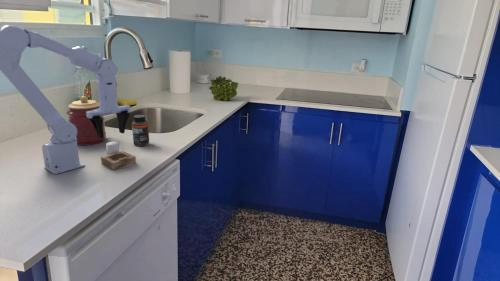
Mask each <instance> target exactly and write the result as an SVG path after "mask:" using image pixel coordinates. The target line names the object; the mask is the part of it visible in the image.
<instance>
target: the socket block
mask: <svg viewBox="0 0 500 281" xmlns="http://www.w3.org/2000/svg"><path fill="white" fill-rule="evenodd" d="M136 157H137V156H135V155H132V154H131V153H128V152H126V151H124V150H123V151H119V152H118V153H114V154H110V155H107V154H106V155H103V156H100V163H101V165H103V166H105V167H107V168H109V170H112V171H117V170H119V169H123V168H127V167H130V166H133V165H136V164H137V158H136Z"/></svg>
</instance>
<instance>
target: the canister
mask: <svg viewBox="0 0 500 281" xmlns="http://www.w3.org/2000/svg"><path fill="white" fill-rule="evenodd" d="M67 107H68V110H67V111H66V114H67V116H68V119H67V120H68V121H69V122H70V123H72V124H73V125H75V127H76V128H77V135H76V139H77V146H78V145H79V146H89V145H97V144H99V143H102V142H104V141H105V140H106V137H107V133H106V132H107V131H106V125H105V117H104V115H103V116H100V117H101V119H103V138H99V137H98V134H97V132H96V129H95V127H94V125H93V124H92V122H91V121H90V120H89V118H87V116H86V112H87V111H92V110H95V109H99V108H100V107H99V101H98V102H97V100H94V99H93V100H92V99H88V97H87V96H85V95H82V96H80V98H79V100H75V101H72V102H71V103H70V104H68V106H67Z"/></svg>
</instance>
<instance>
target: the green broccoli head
mask: <svg viewBox="0 0 500 281" xmlns="http://www.w3.org/2000/svg"><path fill="white" fill-rule="evenodd" d="M210 83H211V84H210V85H211V86H210V87H209V90H210V91H211V92H210V93H211V95H213V100H216V101H217V100H218V101H220V100H223V101H228V100H232V98H235V97H236V96H237V95H238V92H237V91H238V90H237V89H238V87H239V82H236V81H233V80H232V79H231V78H229V77H228V79H227V78H226V76H223V77H222V76H220V75H219V76H216V78H215V79H211V82H210Z"/></svg>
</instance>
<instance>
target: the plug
mask: <svg viewBox="0 0 500 281" xmlns="http://www.w3.org/2000/svg"><path fill="white" fill-rule="evenodd" d="M119 145H120V143H119V142H118V141H109V142H107V143H105V146H106V147H105V148H106V155H110V154H114V153H118V152H120V146H119Z"/></svg>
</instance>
